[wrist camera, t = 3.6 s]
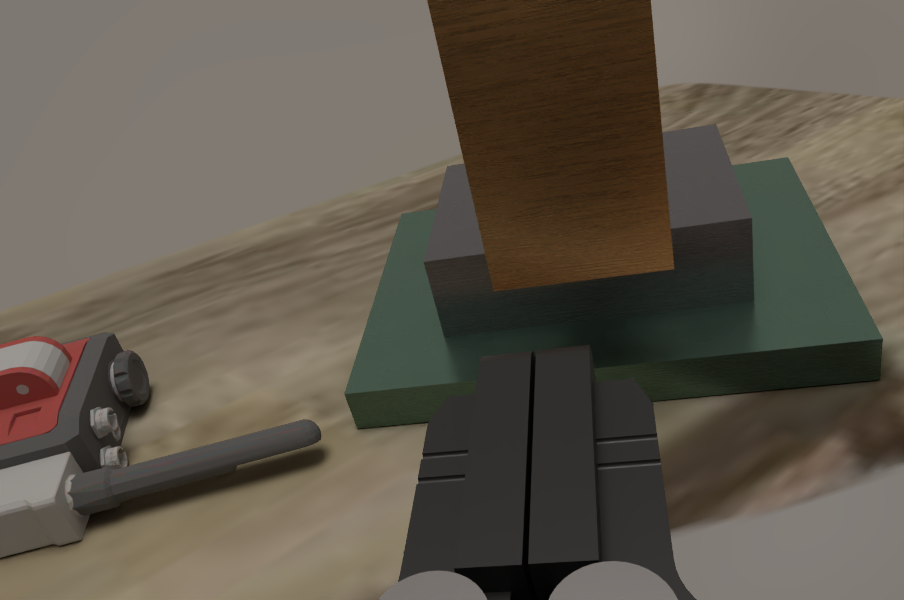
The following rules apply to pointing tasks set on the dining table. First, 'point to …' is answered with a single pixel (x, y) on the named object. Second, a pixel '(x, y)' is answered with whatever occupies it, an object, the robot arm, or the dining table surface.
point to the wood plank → (559, 135)
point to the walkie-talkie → (91, 439)
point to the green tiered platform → (627, 298)
